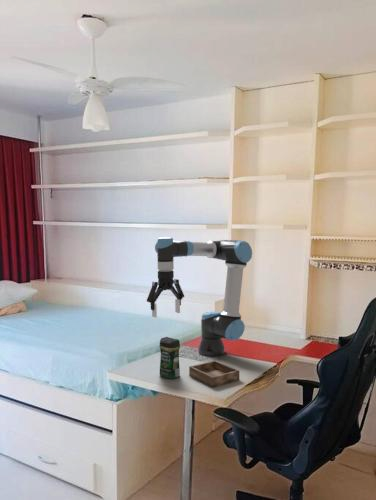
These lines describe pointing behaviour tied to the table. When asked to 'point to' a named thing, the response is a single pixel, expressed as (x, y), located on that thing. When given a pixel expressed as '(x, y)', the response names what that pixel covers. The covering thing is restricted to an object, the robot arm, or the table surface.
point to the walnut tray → (214, 373)
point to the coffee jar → (169, 358)
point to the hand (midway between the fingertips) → (166, 314)
